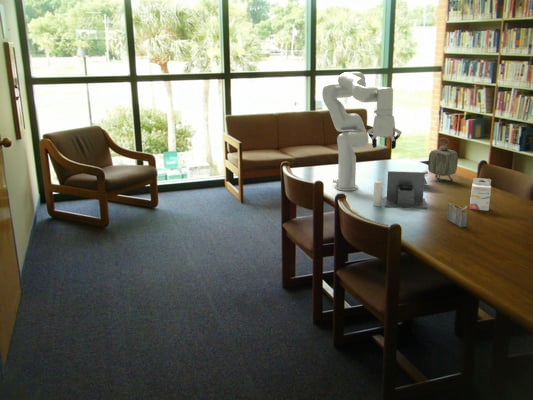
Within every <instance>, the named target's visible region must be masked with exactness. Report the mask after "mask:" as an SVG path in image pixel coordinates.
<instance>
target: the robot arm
mask: <svg viewBox="0 0 533 400" xmlns="http://www.w3.org/2000/svg"><path fill="white" fill-rule="evenodd" d="M321 95H322V100H323V102H324V104H325V106H326V108H327V110H328V112H329V115H330V117H331V121H332V123H333V126H334V128H335V129H336V131H337V132H341V133H340V134H338V135H337V138H336V142H337V149H338V171H337V172H338V173H337V175H338V176H337V178H333V180H332V183H334V184H335V183H336V184H335V187H334V188H335V189H336V190H339V191H345V192H346V191H348V192H349V191H352V192H353V191H356V190H358V188H359V186H358V184H356V173H357V172H356V171H357V165H356V164H357V156H356V153H355V152H354V149H361V148H365V147H367V146H368V144H369V138H370V139H371V140H372V141H371V142H372V143H371V145H372V149H375V148H377V144H378V143H377V142H378V140H377V137H378V138H379V137H380V138H381V137H382V138H390V139H391V146H390V147H391V150H394V149H396V145H397V140H398V139H399V138H400V137H401V135H402V131H401V130H399V129H398V128H396V122H395V116H394V114H393V108H394V107H393V105H394V89H393V87H391V86H381V85H376V86H367V84H366V76H365V75H364V73H362V72H361V71H346V72H343V73H341V74H340V75H338V77H337V82H329V83H327V84H325V85H324V86H323V88H322V94H321ZM352 96H353V97H352ZM351 97H352V98H353V99H355V100H356V101H359V102H361V103H376V110H373V111H374V114H376V115H375V116H374V119H373V127H372V128H370V129H366V127H365V124H364V121H363V119H362V117H361V115H359V114H358V113H355V112H354V113H348V112H347V110H346V108H345V106H344V105H343V103H342V102H341V101H340V100H338V99H343V98H351ZM396 133H397V134H396ZM395 134H396V135H395Z"/></svg>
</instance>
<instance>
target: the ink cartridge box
mask: <svg viewBox="0 0 533 400" xmlns="http://www.w3.org/2000/svg"><path fill="white" fill-rule="evenodd" d="M491 184H492V179H490V178H482V177H474V178H473V179H472V185H471V192H470V200H469V209H470V210H475V211H477V210H478V211H487V212H488V211H489V210H490V203H491V202H490V201H491V192H492V185H491Z"/></svg>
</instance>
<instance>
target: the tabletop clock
mask: <svg viewBox="0 0 533 400" xmlns="http://www.w3.org/2000/svg"><path fill="white" fill-rule="evenodd" d="M442 139H443V140H446V141H448V142H447V143H445V142H441V140H442ZM438 142H439V144H440V146H439V148H438V149H433V150H431V151H430V152H429V155H428V162H427V163H428V165H427V166H428V167H427V169H428V170H427V171H428V173H429V172H431V173H432V174H433V175H434V177H435V178H437V179H436V180H437V181H438V182H439V181H441V179H440V178H441V177H448V178H449V181H450V182H453V180H454V179H453V178H452V177H451V176H452V175H456V173H457V170H458V162H459V159H458V157H459V155H458V152H457V151H456V150H452V149H449V148H448V145H449V144H450V139H448V138H447V137H440V138H439V140H438Z"/></svg>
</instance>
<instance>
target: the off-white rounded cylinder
mask: <svg viewBox="0 0 533 400" xmlns="http://www.w3.org/2000/svg"><path fill="white" fill-rule="evenodd" d="M382 193H383V181H380V180H376V181H373V195H372V196H373V197H372V198H373V201H372V205H373V207H378V208H379V207H381V206H382V199H383V198H382V197H383V195H382Z"/></svg>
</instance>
